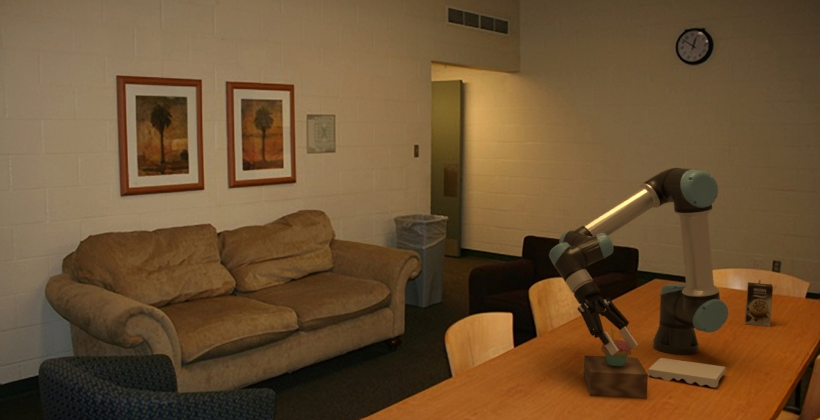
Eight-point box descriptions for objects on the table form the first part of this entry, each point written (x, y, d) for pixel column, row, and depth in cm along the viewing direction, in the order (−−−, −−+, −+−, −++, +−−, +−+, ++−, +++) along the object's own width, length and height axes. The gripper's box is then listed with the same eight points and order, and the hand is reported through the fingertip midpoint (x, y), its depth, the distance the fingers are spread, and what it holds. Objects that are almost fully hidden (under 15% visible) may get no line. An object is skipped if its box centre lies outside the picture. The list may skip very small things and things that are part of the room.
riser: (636, 379, 232) (637, 357, 232) (646, 398, 216) (647, 374, 216) (583, 377, 234) (584, 355, 233) (590, 395, 218) (591, 371, 217)
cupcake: (614, 369, 219) (616, 329, 218) (594, 362, 226) (596, 323, 225) (636, 366, 223) (638, 326, 222) (616, 358, 230) (617, 320, 229)
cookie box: (745, 324, 299) (747, 284, 298) (744, 320, 305) (747, 281, 304) (770, 327, 296) (773, 286, 294) (769, 323, 302) (772, 283, 300)
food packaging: (648, 379, 235) (715, 390, 224) (648, 369, 235) (716, 379, 224) (660, 367, 248) (725, 377, 237) (660, 357, 247) (725, 366, 237)
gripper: (597, 290, 241) (638, 350, 230) (553, 299, 228) (594, 363, 217) (612, 276, 236) (654, 337, 226) (567, 284, 223) (610, 350, 212)
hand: (624, 350), depth 221 cm, fingers open, 9 cm apart
